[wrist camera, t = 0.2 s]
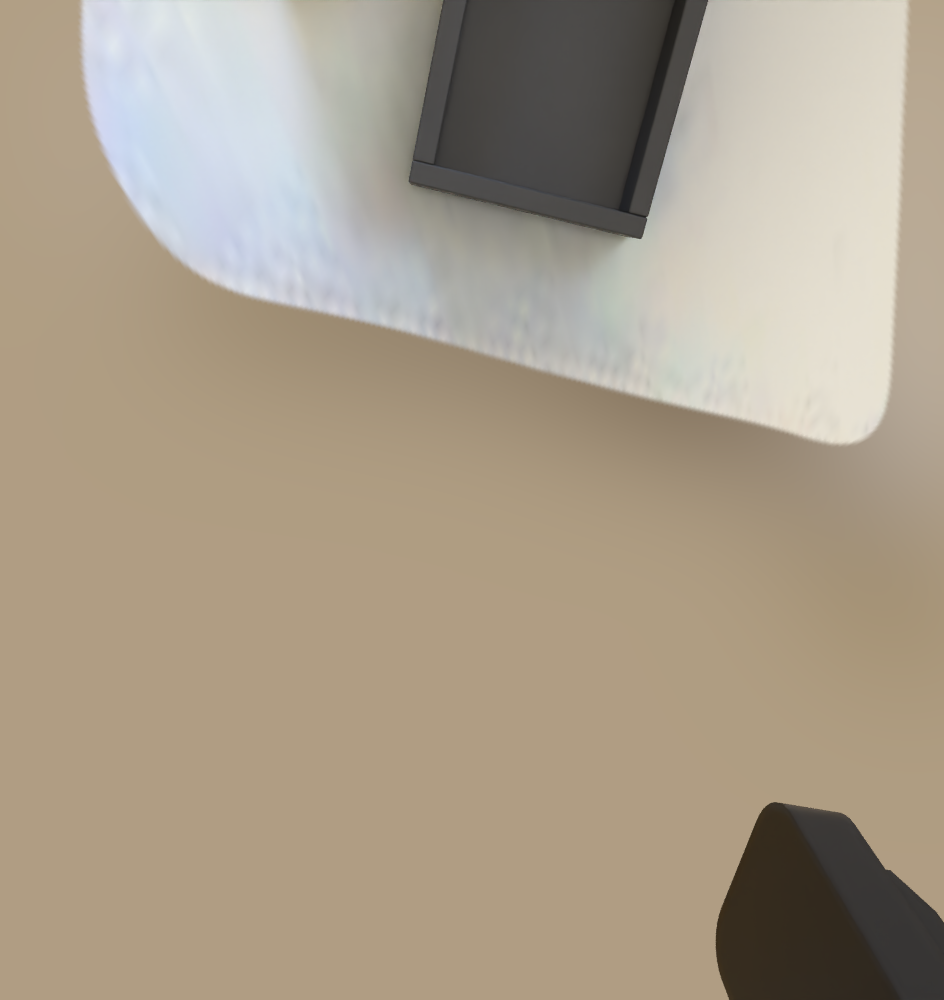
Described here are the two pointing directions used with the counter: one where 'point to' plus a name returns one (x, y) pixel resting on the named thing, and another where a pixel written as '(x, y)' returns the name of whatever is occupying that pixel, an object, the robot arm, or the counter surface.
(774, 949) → the robot arm
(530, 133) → the tray
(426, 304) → the counter surface
